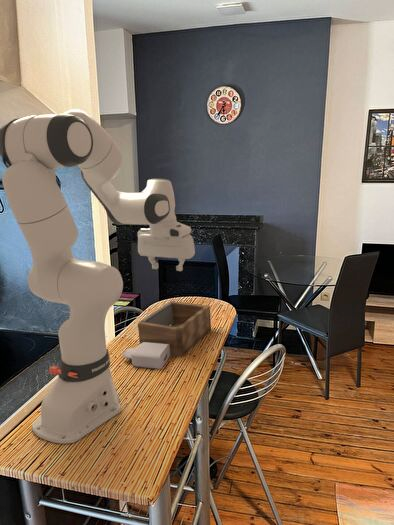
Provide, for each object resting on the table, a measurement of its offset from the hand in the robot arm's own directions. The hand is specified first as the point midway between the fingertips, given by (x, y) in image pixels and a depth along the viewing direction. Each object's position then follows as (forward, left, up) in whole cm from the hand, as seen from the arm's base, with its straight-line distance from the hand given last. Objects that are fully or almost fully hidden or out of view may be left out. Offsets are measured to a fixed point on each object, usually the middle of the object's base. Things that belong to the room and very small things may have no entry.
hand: (167, 269), depth 134 cm
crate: (+1, -1, -26) cm, 26 cm away
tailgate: (+1, +6, -24) cm, 25 cm away
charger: (-16, +1, -26) cm, 31 cm away
